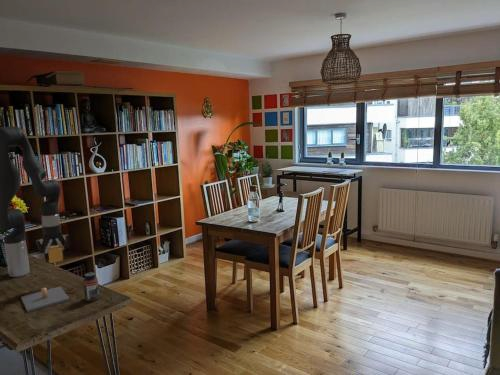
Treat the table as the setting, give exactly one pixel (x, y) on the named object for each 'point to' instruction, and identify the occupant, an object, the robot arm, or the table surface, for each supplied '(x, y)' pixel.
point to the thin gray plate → (44, 298)
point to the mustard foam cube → (55, 254)
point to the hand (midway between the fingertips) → (55, 258)
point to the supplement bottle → (91, 287)
